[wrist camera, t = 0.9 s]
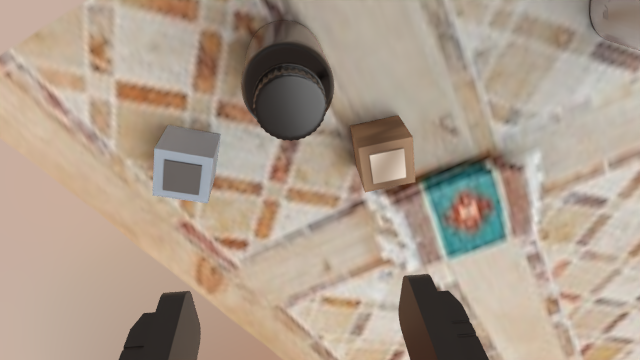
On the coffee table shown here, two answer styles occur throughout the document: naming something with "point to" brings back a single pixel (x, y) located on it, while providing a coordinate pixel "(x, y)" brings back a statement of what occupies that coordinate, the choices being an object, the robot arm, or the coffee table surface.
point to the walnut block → (383, 153)
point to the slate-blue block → (185, 164)
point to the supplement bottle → (287, 80)
